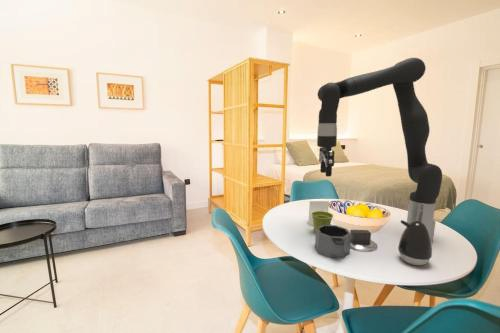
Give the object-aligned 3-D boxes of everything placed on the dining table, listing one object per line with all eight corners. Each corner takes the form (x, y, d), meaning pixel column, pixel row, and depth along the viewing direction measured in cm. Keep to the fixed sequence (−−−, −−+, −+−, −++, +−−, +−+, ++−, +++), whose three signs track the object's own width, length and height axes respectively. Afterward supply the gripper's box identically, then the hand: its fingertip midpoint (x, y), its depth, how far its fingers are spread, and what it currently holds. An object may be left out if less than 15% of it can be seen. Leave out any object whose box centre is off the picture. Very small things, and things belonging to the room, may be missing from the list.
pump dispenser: (399, 251, 102) (403, 214, 99) (431, 261, 95) (437, 220, 93) (393, 262, 94) (398, 221, 91) (428, 272, 87) (434, 229, 85)
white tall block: (324, 220, 134) (326, 197, 132) (329, 227, 125) (331, 203, 123) (306, 220, 134) (308, 197, 132) (310, 227, 125) (311, 202, 123)
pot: (340, 241, 110) (341, 223, 109) (355, 262, 93) (357, 241, 92) (311, 240, 110) (312, 222, 109) (321, 261, 94) (323, 240, 92)
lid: (368, 238, 114) (370, 225, 113) (383, 253, 101) (384, 238, 100) (338, 238, 114) (339, 224, 113) (349, 252, 101) (350, 237, 100)
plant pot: (333, 238, 113) (334, 218, 112) (310, 236, 115) (311, 217, 114) (331, 229, 122) (332, 211, 121) (310, 227, 124) (311, 210, 123)
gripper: (342, 135, 99) (340, 177, 101) (331, 134, 113) (330, 171, 115) (321, 135, 99) (320, 177, 102) (313, 134, 113) (312, 171, 116)
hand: (325, 174), depth 108 cm, fingers open, 8 cm apart
